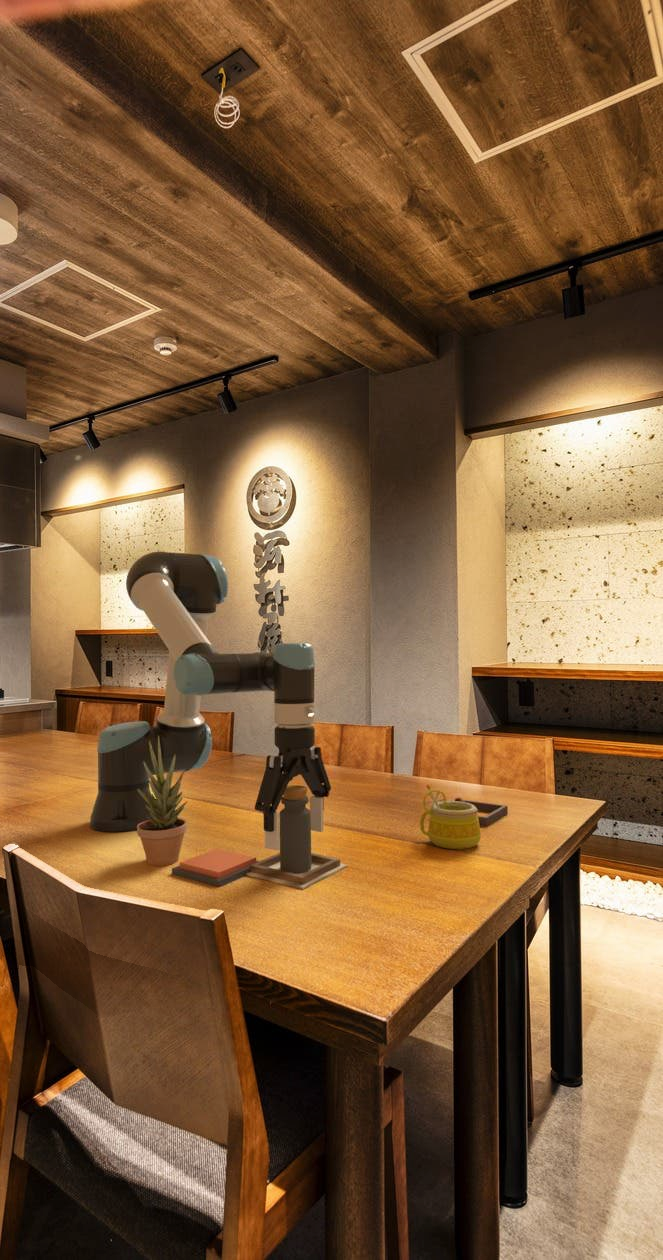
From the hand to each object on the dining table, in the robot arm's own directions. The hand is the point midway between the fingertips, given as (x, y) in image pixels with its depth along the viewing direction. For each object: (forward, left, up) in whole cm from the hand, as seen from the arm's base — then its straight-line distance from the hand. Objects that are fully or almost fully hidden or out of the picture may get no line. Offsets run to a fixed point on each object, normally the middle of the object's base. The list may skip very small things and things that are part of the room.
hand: (295, 839), depth 126 cm
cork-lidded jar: (0, 0, -6) cm, 6 cm away
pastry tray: (+12, +54, -6) cm, 56 cm away
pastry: (+10, +52, -6) cm, 53 cm away
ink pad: (-12, -8, -6) cm, 16 cm away
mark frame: (0, 0, -6) cm, 6 cm away
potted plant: (-25, -10, -6) cm, 28 cm away
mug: (+17, +31, -6) cm, 36 cm away
